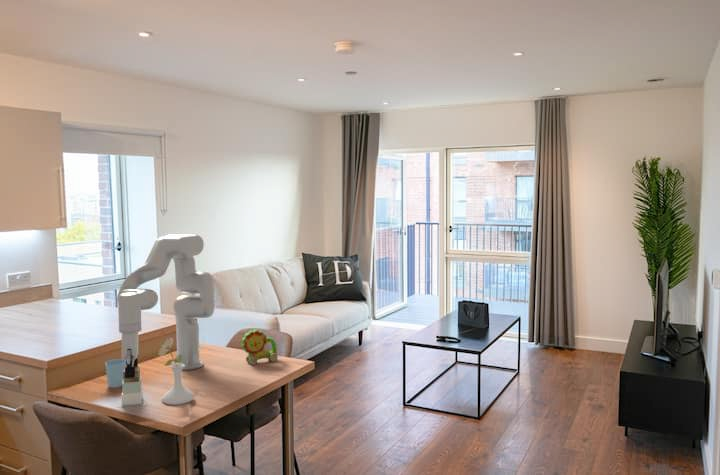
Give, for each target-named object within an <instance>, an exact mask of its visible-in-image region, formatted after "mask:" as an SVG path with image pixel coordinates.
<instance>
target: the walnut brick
mask: <svg viewBox="0 0 720 475" xmlns="http://www.w3.org/2000/svg"><path fill="white" fill-rule="evenodd" d="M140 368H141V366H138V367H135V377H134V378H125V369H124V371H123V381H124V383H127V382H138V381H139V378H140V376H141V374H140V373H141V372H140Z"/></svg>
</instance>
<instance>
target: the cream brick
mask: <svg viewBox="0 0 720 475" xmlns="http://www.w3.org/2000/svg"><path fill="white" fill-rule="evenodd" d="M143 392H144V391H143V386H142V387H141V392H139V393H129V394H123V392H121V397H120V398H122V405H132V404H141V402H142V398H143V396H144V395H143V394H144V393H143Z"/></svg>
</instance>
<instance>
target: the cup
mask: <svg viewBox="0 0 720 475" xmlns="http://www.w3.org/2000/svg"><path fill="white" fill-rule="evenodd" d="M125 361H126V359H125V360H124V361H122V359H121V358H119V359H117V358H115V359H109V360H108V361H106V362H104V366H105V373H106V379H107V384H108V388H111V389H116V388H117V389H118V388H120V387H121V388H122V382H123V371H124V369H125Z"/></svg>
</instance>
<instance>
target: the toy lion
mask: <svg viewBox="0 0 720 475" xmlns="http://www.w3.org/2000/svg"><path fill="white" fill-rule="evenodd" d="M267 343H270V344H271V350H270V351H269V350H267V349H265V346H266V344H267ZM241 348H242V349H243V351H244V352H245V353H247V355H246V357H245V361H246V362H247V363H249V364H250V365H251V366H254V365H256V364H257V363H258V361H260V360H262V359H268V360H269V361H271V362H276V361H277V360H278V354H277V344H276V342H275V340H274V339H272V338H271V337H268V336H267V335H266V334H265V333H264V332H263V331H261V330H258V329H253V330H249V331H248V332H247V333H245V334H244V335H243V337H242V339H241Z"/></svg>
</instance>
